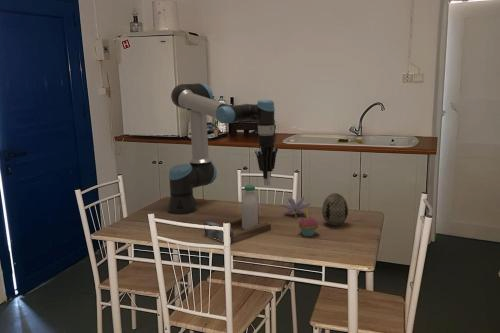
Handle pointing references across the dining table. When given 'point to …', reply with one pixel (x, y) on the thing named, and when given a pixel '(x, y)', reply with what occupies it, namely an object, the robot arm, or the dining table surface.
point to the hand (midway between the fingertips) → (267, 185)
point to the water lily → (295, 206)
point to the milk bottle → (250, 208)
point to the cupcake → (308, 225)
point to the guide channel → (239, 235)
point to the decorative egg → (335, 209)
